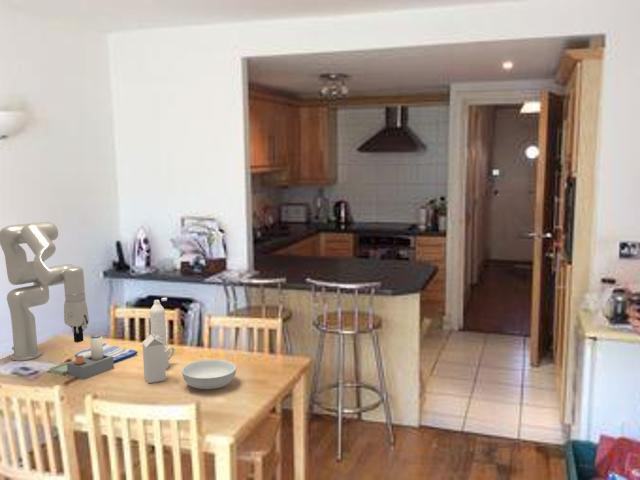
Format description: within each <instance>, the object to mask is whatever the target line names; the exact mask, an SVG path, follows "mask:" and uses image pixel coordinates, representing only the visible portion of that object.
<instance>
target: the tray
mask: <svg viewBox="0 0 640 480" xmlns="http://www.w3.org/2000/svg"><path fill="white" fill-rule="evenodd" d="M70 362H71V361H67V362H64V363H61V364H59V365H58V364H57V365H55V366H52V367H50V368H49V371H50V373H53V374H55V375H59V376H63V377H65V376H69V375H68V370H67V363H70Z"/></svg>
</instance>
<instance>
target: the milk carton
mask: <svg viewBox="0 0 640 480" xmlns="http://www.w3.org/2000/svg"><path fill="white" fill-rule="evenodd" d="M161 339H162V338H161V337H160V336H158V335H157V336H156V337H155V335H154V334H153V333H152V332H151V331H150V334H149V335H148V336H147V337H146V338H145V339H144V340H143V341H142V356H143V377H144V379H145V381H146V383H147V384H152V383H157V382H158V383H159V382H164V381H166V380H167V375H166V374H167V373H166V370H165V351H164V344H163V343H162V341H161Z"/></svg>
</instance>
